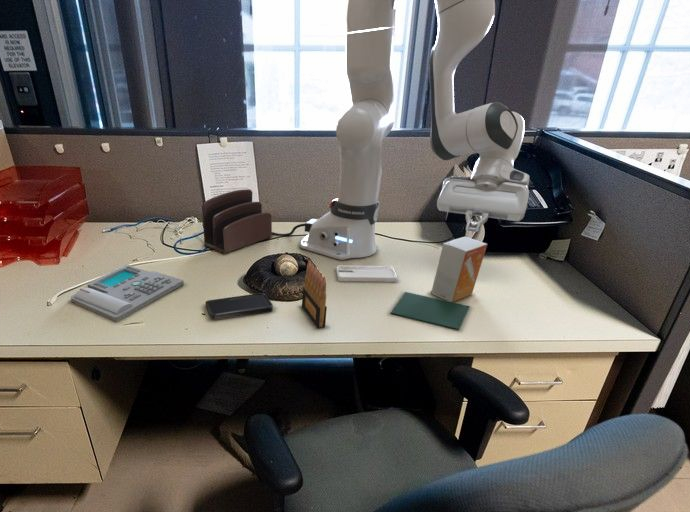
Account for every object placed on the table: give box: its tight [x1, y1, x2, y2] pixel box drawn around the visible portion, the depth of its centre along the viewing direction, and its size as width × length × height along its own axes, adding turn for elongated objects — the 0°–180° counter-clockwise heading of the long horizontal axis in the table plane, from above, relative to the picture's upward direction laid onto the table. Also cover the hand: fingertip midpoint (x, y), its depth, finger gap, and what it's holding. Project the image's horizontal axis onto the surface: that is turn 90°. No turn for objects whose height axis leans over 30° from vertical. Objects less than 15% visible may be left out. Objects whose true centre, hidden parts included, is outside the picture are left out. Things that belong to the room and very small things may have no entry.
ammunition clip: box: [301, 259, 328, 329], centre depth 105 cm, size 11×2×12 cm, turn 13°
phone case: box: [335, 264, 398, 283], centre depth 125 cm, size 7×1×15 cm
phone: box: [205, 292, 274, 321], centre depth 112 cm, size 8×1×15 cm
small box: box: [430, 236, 488, 303], centre depth 112 cm, size 8×6×13 cm
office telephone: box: [70, 264, 185, 323], centre depth 119 cm, size 23×3×20 cm
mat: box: [390, 291, 470, 331], centre depth 110 cm, size 15×12×1 cm
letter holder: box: [201, 188, 273, 255], centre depth 143 cm, size 10×20×14 cm, turn 132°
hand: (471, 230), depth 116 cm, fingers closed
